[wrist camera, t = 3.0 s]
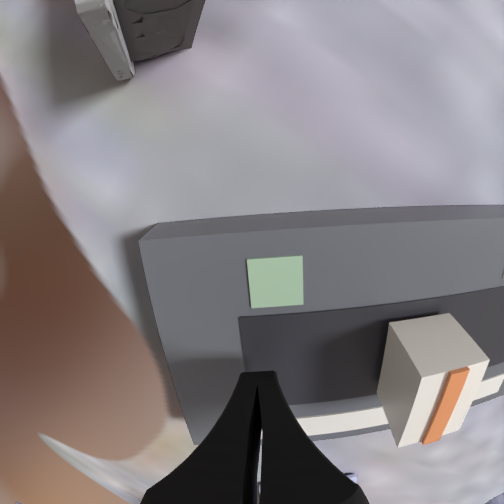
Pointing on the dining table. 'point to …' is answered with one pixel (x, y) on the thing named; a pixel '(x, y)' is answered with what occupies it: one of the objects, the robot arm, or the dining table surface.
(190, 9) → the electrical switch
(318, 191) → the dining table surface
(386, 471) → the dining table surface
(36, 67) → the dining table surface
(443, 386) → the block
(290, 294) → the panel
